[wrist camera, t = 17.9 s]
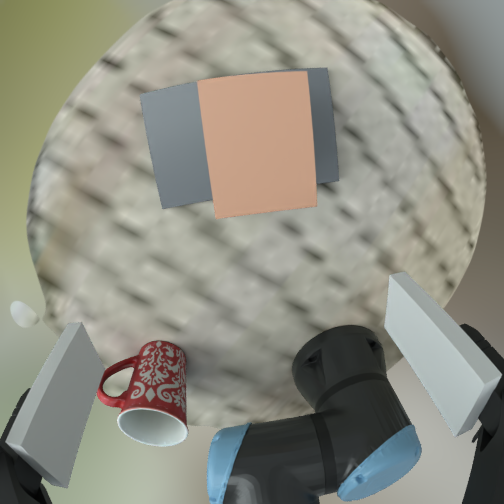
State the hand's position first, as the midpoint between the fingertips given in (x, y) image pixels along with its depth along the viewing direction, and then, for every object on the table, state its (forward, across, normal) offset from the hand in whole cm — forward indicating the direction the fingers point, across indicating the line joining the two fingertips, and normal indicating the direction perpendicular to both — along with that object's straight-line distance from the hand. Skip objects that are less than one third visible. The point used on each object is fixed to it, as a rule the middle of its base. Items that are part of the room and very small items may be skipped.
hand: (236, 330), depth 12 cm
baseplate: (+25, -3, -6) cm, 26 cm away
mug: (+26, +15, +22) cm, 37 cm away
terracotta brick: (+13, -3, -6) cm, 15 cm away
